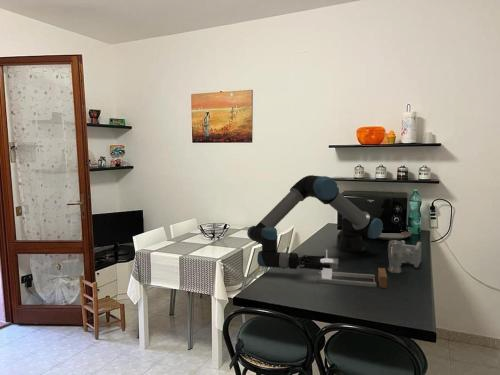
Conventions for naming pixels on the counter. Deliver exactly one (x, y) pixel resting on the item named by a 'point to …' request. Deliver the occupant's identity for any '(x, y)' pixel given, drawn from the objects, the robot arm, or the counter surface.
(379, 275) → the channel
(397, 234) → the dinner plate
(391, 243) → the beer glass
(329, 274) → the beverage cup
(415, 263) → the cable organizer
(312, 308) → the counter surface
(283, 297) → the counter surface
